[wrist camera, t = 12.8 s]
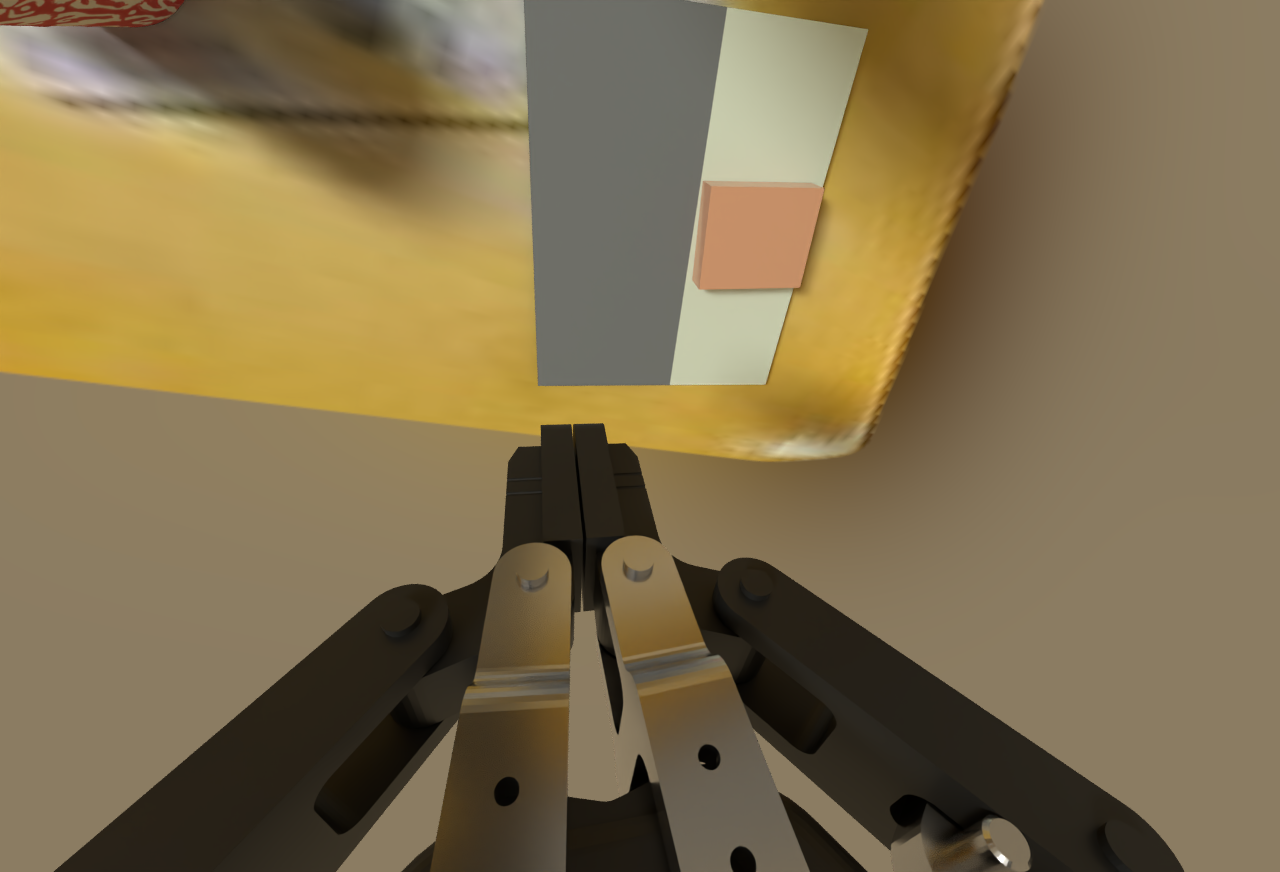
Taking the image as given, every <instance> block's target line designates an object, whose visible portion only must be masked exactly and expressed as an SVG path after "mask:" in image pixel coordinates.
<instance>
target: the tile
mask: <svg viewBox="0 0 1280 872" xmlns="http://www.w3.org/2000/svg"><path fill="white" fill-rule="evenodd" d="M824 189H825V188H823V187H821V186H818V185H816V184H813V183H801V182H747V181H703V184H702V194H701V203H700V212H699V221H698V230H697V240H696V249H695V258H694V267H693V276H692V281H693V282H694V283H695V285H696V286H697V287H698V289H699V290H708V289H759V288H800V286H801V281H802V277H803V273H804V269H805V265H806V261H807V257H808V253H809V249H810V245H811V241H812V237H813V233H814V229H815V225H816V221H817V217H818V213H819V209H820V205H821V201H822V197H823V193H824Z"/></svg>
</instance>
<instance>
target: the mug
mask: <svg viewBox="0 0 1280 872" xmlns="http://www.w3.org/2000/svg"><path fill="white" fill-rule="evenodd" d="M183 2H184V0H0V25H11V26H38V27H49V26H86V27H92V26H105V27H143V26H149V25H154V24H157V23H159V22H162V21H164V20H166V19H167V18H169V17H170V16H172V15H173V14H174V13H175V12H176V11H177V10H178V8H179V7H180V6H181V5H182V4H183Z"/></svg>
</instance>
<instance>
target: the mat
mask: <svg viewBox="0 0 1280 872" xmlns="http://www.w3.org/2000/svg"><path fill="white" fill-rule="evenodd" d="M524 13H525V40H526V67H527V94H528V122H529V149H530V176H531V203H532V231H533V258H534V285H535V313H536V340H537V367H538V386H577V385H765V384H766V381H767V377H768V374H769V371H770V367H771V364H772V360H773V357H774V353H775V350H776V346H777V343H778V340H779V336H780V333H781V329H782V326H783V322H784V319H785V315H786V312H787V308H788V305H789V302H790V298H791V295H792V291H793V288H759V289H708V290H699V289H698V287H697V286H696V285H695V283H694V282H693V281H692V276H693V267H694V258H695V249H696V240H697V230H698V221H699V212H700V203H701V194H702V184H703V181H747V182H801V183H813V184H816V185H818V186H821V187H823V184H824V181H825V177H826V174H827V171H828V167H829V164H830V160H831V157H832V153H833V150H834V146H835V143H836V140H837V136H838V133H839V129H840V126H841V122H842V119H843V115H844V112H845V109H846V105H847V102H848V98H849V95H850V91H851V88H852V84H853V81H854V78H855V74H856V71H857V67H858V64H859V60H860V57H861V53H862V50H863V47H864V43H865V40H866V36H867V33H868V29H863V28H857V27H850V26H844V25H838V24H831V23H825V22H818V21H812V20H806V19H799V18H793V17H787V16H780V15H774V14H767V13H761V12H755V11H748V10H742V9H736V8H729V7H723V6H716V5H710V4H704V3H697V2H691V1H685V0H524Z"/></svg>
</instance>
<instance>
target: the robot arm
mask: <svg viewBox="0 0 1280 872" xmlns="http://www.w3.org/2000/svg"><path fill="white" fill-rule="evenodd" d="M581 588H582V598H583V610H584V611H591V610H595V619H596V628H597V633H596V650H597V656H598V661H599V666H600V672H601V677H602V683H603V688H604V693H605V698H606V704H607V709H608V714H609V720H610V726H611V730H612V736H613V744H614V754H615V769H616V777H617V785H618V791H619V798H617V799H615V800H612V801H608V802H601V801H594V800H587V799H579V798H573V797H568V752H569V751H568V750H569V697H570V695H569V694H570V650H571V648H572V645H573V640H574V612H580V608H581ZM458 719H459V720H458ZM457 720H458V725H457V731H456V736H455V741H454V747H453V752H452V758H451V763H450V768H449V773H448V778H447V784H446V789H445V795H444V800H443V805H442V810H441V816H440V821H439V827H438V832H437V837H436V841H435V842H434V843H433V844H432V845H430V846H429V847H428V848H427V849H426V850H424V851H423V852H422V853H420V854H419V855H418V856H417V857H416V858H415V859H414V860H413V861H412V862H411V863H410V864H409V865H408V866H407V867H406V868H405V869H404V870H403V871H402V872H867V871H866V870H865V869H864V868H863V867H862V866H861V865H860V864H859V863H858V862H857V861H856V860H855V859H854V858H853V857H852V856H851V855H850V854H849V853H848V852H847V851H846V850H845V849H844V848H843V847H842V846H841V845H840V844H839V843H838V842H837V841H836V840H835V839H834V838H833V837H832V836H831V835H830V834H829V833H828V832H827V831H825V829H824V828H823V827H822V826H821V825H820V824H819V823H818V822H817V821H815V820H814V819H813V818H812V817H811V816H810V815H809V814H808V813H807V812H806V811H805V810H804V809H802V808H801V807H799V806H798V805H797V804H796V803H795V802H793V801H792V800H790V799H789V798H788V797H786V796H784V795H783V794H781V793H779V792H778V790H777V788H776V786H775V783H774V780H773V778H772V776H771V773H770V771H769V768H768V765H767V763H766V760H765V758H764V755H763V753H762V750H761V748H760V745H759V743H758V740H757V738H756V735H755V733H754V730H755V731H756V732H758V733H759V734H760V735H761V736H762V737H763V738H764V739H765V740H767V741H768V742H769V743H770V744H771V745H772V746H773V747H774V748H776V749H777V750H778V751H779V752H780V753H781V754H782V755H783V756H785V757H786V758H787V759H788V760H789V761H790V762H791V763H792V764H793V765H795V766H796V767H797V768H798V769H799V770H800V771H801V772H802V773H804V774H805V775H806V776H807V777H808V778H809V779H811V781H813V782H814V783H815V784H816V785H817V786H818V787H819V788H821V789H822V790H823V791H824V792H825V793H826V794H827V795H828V796H829V797H831V798H832V799H833V800H834V801H835V802H836V803H837V804H838V805H840V806H841V807H842V808H843V809H844V810H845V811H846V812H847V813H849V814H850V815H851V816H852V817H853V818H854V819H856V820H857V821H858V822H859V823H860V824H861V825H862V826H863V827H864V828H866V829H867V830H868V831H869V832H870V833H871V834H872V835H873V836H874V837H876V838H877V839H878V840H879V841H880V842H881V843H882V844H883V845H885V846H886V847H887V848H888V849H889V850H890V851H891V861H892V866H893V871H894V872H1184V870H1183V868H1182V866H1181V865H1180V863H1179V861H1178V860H1177V858H1176V857H1175V855H1174V853H1173V852H1172V851H1171V849H1170V848H1169V847H1168V845H1167V844H1166V843H1165V842H1164V840H1163V839H1162V838H1161V837H1160V836H1159V835H1158V834H1157V832H1156V831H1155V830H1154V829H1153V828H1152V827H1151V826H1150V825H1149V824H1148V823H1147V822H1146V821H1145V820H1143V819H1142V818H1141V817H1140V816H1139V815H1138V814H1137V813H1135V812H1134V811H1133V810H1131V809H1130V808H1129V807H1127V806H1126V805H1125V804H1123V803H1121V802H1120V801H1119V800H1117V799H1116V798H1114V797H1112V796H1111V795H1110V794H1108V793H1107V792H1105V791H1104V790H1102V789H1101V788H1100V787H1098V786H1097V785H1095V784H1094V783H1092V782H1090V781H1089V780H1088V779H1086V778H1085V777H1083V776H1082V775H1080V774H1079V773H1077V772H1076V771H1074V770H1073V769H1071V768H1070V767H1069V766H1067V765H1066V764H1064V763H1063V762H1061V761H1060V760H1058V759H1057V758H1055V757H1054V756H1052V755H1051V754H1049V753H1047V752H1046V751H1045V750H1043V749H1042V748H1040V747H1039V746H1038V745H1036V744H1035V743H1033V742H1032V741H1030V740H1029V739H1027V738H1026V737H1024V736H1023V735H1021V734H1020V733H1018V732H1017V731H1015V730H1014V729H1012V728H1011V727H1009V726H1008V725H1007V724H1005V723H1003V722H1002V721H1001V720H999V719H998V718H996V717H995V716H993V715H992V714H990V713H989V712H987V711H986V710H984V709H983V708H981V707H980V706H978V705H977V704H975V703H974V702H973V701H971V700H970V699H968V698H967V697H965V696H964V695H962V694H961V693H959V692H958V691H956V690H955V689H953V688H952V687H950V686H949V685H947V684H946V683H944V682H943V681H942V680H940V679H939V678H937V677H935V676H934V675H933V674H931V673H930V672H928V671H927V670H925V669H923V668H922V667H921V666H919V665H918V664H916V663H915V662H913V661H912V660H911V659H909V658H908V657H906V656H905V655H903V654H902V653H900V652H899V651H897V650H896V649H894V648H893V647H891V646H890V645H888V644H887V643H885V642H884V641H882V640H881V639H880V638H878V637H877V636H875V635H873V634H872V633H871V632H869V631H868V630H866V629H865V628H863V627H862V626H860V625H859V624H857V623H856V622H854V621H853V620H851V619H850V618H848V617H847V616H845V615H844V614H843V613H841V612H839V611H838V610H837V609H835V608H834V607H832V606H831V605H829V604H828V603H826V602H825V601H823V600H822V599H820V598H819V597H817V596H816V595H814V594H813V593H812V592H810V591H808V590H807V589H806V588H804V587H802V586H801V585H800V584H798V583H797V582H795V581H794V580H792V579H791V578H789V577H788V576H786V575H785V574H783V573H782V572H781V571H779V570H778V569H776V568H775V567H773V566H771V565H770V564H768V563H766V562H764V561H761V560H758V559H753V558H738V559H734V560H732V561H730V562H728V563H727V564H725V565H724V566H723V568H722V569H721V571H717V570H712V569H708V568H703V567H698V566H693V565H690V564H687V563H684V562H682V561H680V560H678V559H677V558H675V557H674V556H672V555H671V554H670V552H669V551H668V550H667V549H666V548H665V546H664V545H662V543H661V542H660V539H659V536H658V533H657V529H656V525H655V521H654V517H653V514H652V510H651V506H650V502H649V499H648V495H647V491H646V489H645V484H644V479H643V476H642V472H641V468H640V464H639V460H638V457H637V456H636V455H635V453H634V452H633V451H632V450H631V449H630V448H629V447H628V446H627V444H626V443H620V444H608V443H607V437H606V432H605V427H604V424H603V423H600V424H573V436H572V427H571V424H564V425H541V446H535V447H534V446H533V447H518V449H517V450H516V451H515V453H514V454H513V456H512V457H511V459H510V460H509V462H508V474H507V489H506V505H505V519H504V535H503V548H502V553H501V556H500V559H499V561H498V562H497V564H496V565H495V566H494V568H493V569H492V570H491V571H490V572H489V573H488V574H487V575H486V576H484V577H483V578H481V579H480V580H478V581H477V582H475V583H473V584H470V585H468V586H465V587H463V588H460V589H457V590H454V591H452V592H449V593H446V594H444V595H442V594H441V593H440V592H439V591H437V590H436V589H434V588H432V587H430V586H426V585H421V584H409V585H404V586H400V587H396V588H393V589H391V590H389V591H386V592H384V593H383V594H381V595H379V596H378V597H377V598H375V599H374V600H373V601H371V602H370V603H369V604H368V605H367V606H366V607H364V608H363V609H362V610H361V611H360V612H358V613H357V614H356V615H355V616H354V617H353V618H351V619H350V620H349V621H348V622H347V623H345V624H344V625H343V626H342V627H341V628H340V629H339V630H337V631H336V632H335V633H334V634H333V635H331V636H330V637H329V638H328V639H327V640H326V641H324V642H323V643H322V644H321V645H320V646H319V647H318V648H316V649H315V650H314V651H313V652H311V653H310V654H309V655H308V656H307V657H306V658H305V659H303V660H302V661H301V662H300V663H298V664H297V665H296V666H295V667H294V668H293V669H291V670H290V671H289V672H288V673H287V674H285V675H284V676H283V677H282V678H281V679H280V680H278V681H277V682H276V683H275V684H274V685H273V686H271V687H270V688H269V689H268V690H267V691H266V692H264V693H263V694H262V695H261V696H260V697H259V698H257V699H256V700H255V701H254V702H253V703H251V704H250V705H249V706H248V707H247V708H245V709H244V710H243V711H242V712H241V713H240V714H238V715H237V716H236V717H235V718H234V719H233V720H231V721H230V722H229V723H228V724H227V725H226V726H224V727H223V728H222V729H221V730H220V731H218V732H217V733H216V734H215V735H214V736H213V737H211V738H210V739H209V740H208V741H207V742H206V743H204V744H203V745H202V746H201V747H200V748H198V749H197V750H196V751H195V752H194V753H193V754H191V755H190V756H189V757H188V758H187V759H186V760H185V761H183V762H182V763H181V764H180V765H178V766H177V767H176V768H175V769H174V770H173V771H171V772H170V773H169V774H168V775H167V776H166V777H164V778H163V779H162V780H161V781H160V782H158V783H157V784H156V785H155V786H154V787H153V788H151V789H150V790H149V791H148V792H147V793H146V794H144V795H143V796H142V797H141V798H140V799H138V800H137V801H136V802H135V803H134V804H133V805H131V806H130V807H129V808H128V809H127V810H126V811H125V812H123V813H122V814H121V815H120V816H119V817H117V818H116V819H115V820H114V821H113V822H112V823H110V824H109V825H108V826H107V827H106V828H104V829H103V830H102V831H101V832H100V833H98V834H97V835H96V836H95V837H94V838H93V839H91V840H90V841H89V842H88V843H87V844H86V845H84V847H82V848H81V849H80V850H78V851H77V852H76V853H75V854H74V855H73V856H71V857H70V858H69V859H68V860H67V861H66V862H64V863H63V864H62V865H61V866H60V867H58V868H57V869H56V870H55V871H54V872H336V871H337V870H338V868H339V867H340V866H341V865H342V863H343V862H344V861H345V860H346V859H347V857H348V856H349V855H350V854H351V852H352V851H353V850H354V849H355V847H356V846H357V845H358V843H359V842H360V841H361V840H362V839H363V837H364V836H365V835H366V834H367V832H368V831H369V830H370V829H371V827H372V826H373V825H374V824H375V822H376V821H377V820H378V819H379V817H380V816H381V815H382V814H383V812H384V811H385V810H386V808H387V807H388V806H389V805H390V804H391V802H392V801H393V800H394V799H395V797H396V796H397V795H398V794H399V793H400V791H401V790H402V789H403V788H404V786H405V785H406V784H407V783H408V781H409V780H410V779H411V778H412V776H413V775H414V774H415V773H416V771H417V770H418V769H419V768H420V766H421V765H422V764H423V763H424V761H425V760H426V759H427V757H428V756H429V755H430V754H431V753H432V751H433V750H434V749H435V748H436V746H437V745H438V744H439V743H440V741H441V740H442V739H443V738H444V736H445V735H446V734H447V733H448V732H449V730H450V729H451V728H452V727H453V725H454V724H455V723H456V722H457ZM753 729H754V730H753Z"/></svg>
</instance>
